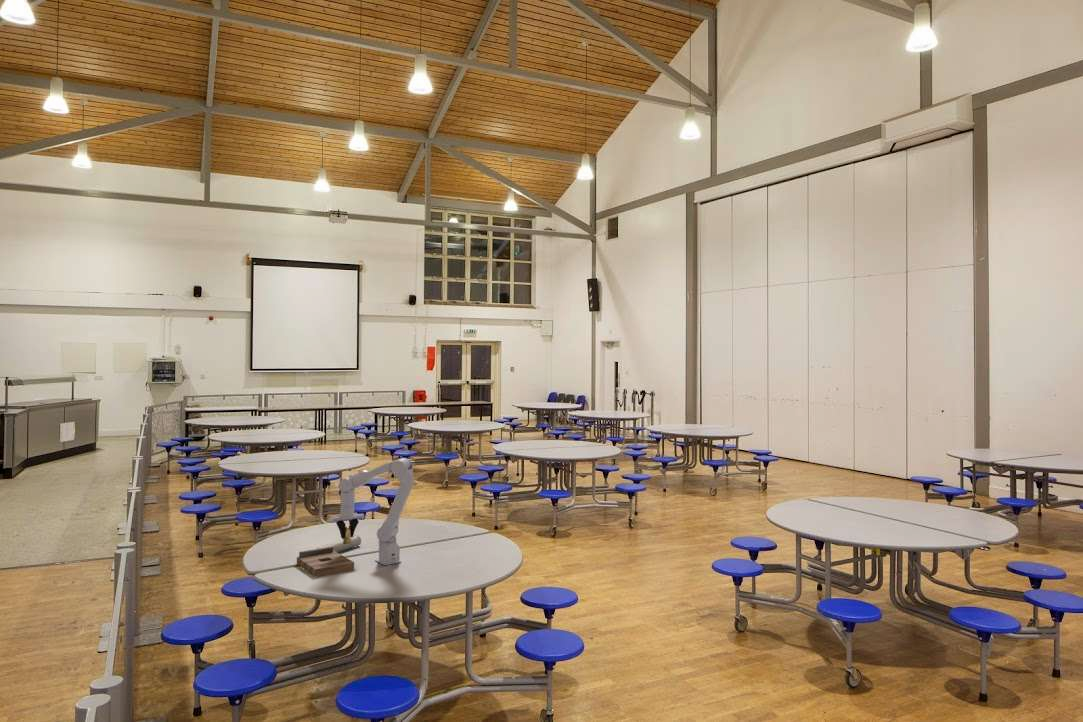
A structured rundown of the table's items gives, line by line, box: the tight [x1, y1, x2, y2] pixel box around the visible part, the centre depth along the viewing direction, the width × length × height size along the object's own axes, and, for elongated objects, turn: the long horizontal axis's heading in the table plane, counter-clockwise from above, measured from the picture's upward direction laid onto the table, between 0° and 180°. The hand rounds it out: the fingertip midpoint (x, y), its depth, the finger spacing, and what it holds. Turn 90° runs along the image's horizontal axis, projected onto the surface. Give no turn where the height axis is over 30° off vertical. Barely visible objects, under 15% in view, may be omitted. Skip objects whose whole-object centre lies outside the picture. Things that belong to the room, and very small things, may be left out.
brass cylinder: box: [343, 525, 351, 544], centre depth 287 cm, size 3×3×7 cm
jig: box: [296, 547, 355, 577], centre depth 276 cm, size 22×16×5 cm
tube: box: [316, 534, 362, 554], centre depth 299 cm, size 5×5×25 cm
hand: (347, 537), depth 287 cm, fingers closed on brass cylinder, 3 cm apart
